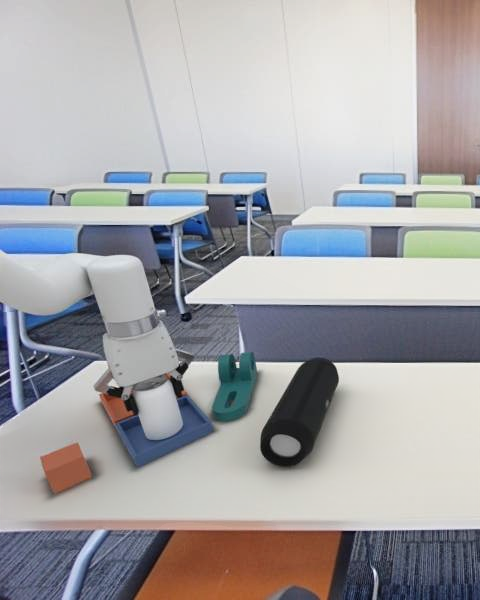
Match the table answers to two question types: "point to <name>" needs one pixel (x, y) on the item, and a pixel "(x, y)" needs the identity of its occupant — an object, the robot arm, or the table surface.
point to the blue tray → (150, 449)
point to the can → (157, 408)
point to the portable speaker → (299, 413)
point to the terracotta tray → (121, 406)
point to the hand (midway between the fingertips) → (157, 402)
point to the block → (65, 467)
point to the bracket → (234, 386)
